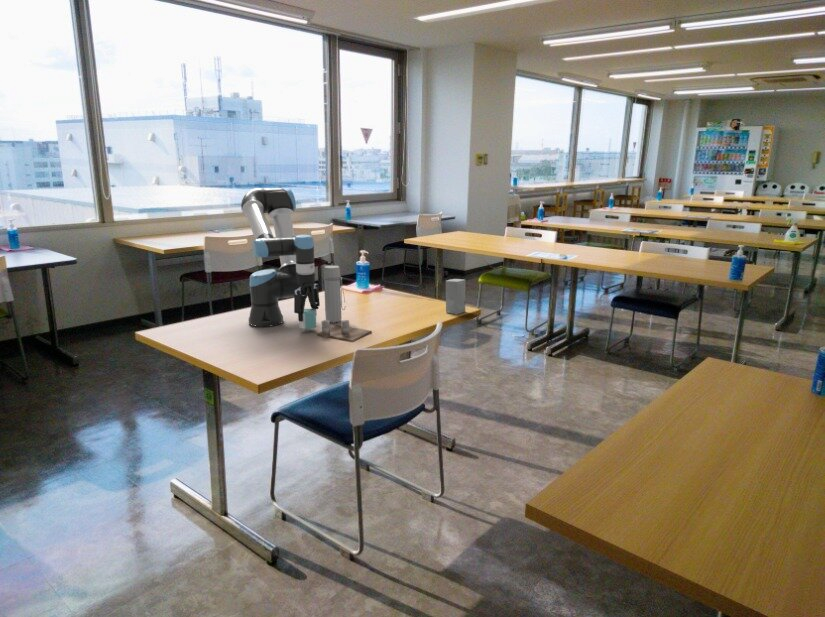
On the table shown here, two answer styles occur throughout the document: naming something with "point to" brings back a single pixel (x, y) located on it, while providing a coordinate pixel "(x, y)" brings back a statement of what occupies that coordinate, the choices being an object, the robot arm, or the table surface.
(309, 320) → the cap
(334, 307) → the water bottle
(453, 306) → the skincare box
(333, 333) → the stud board
